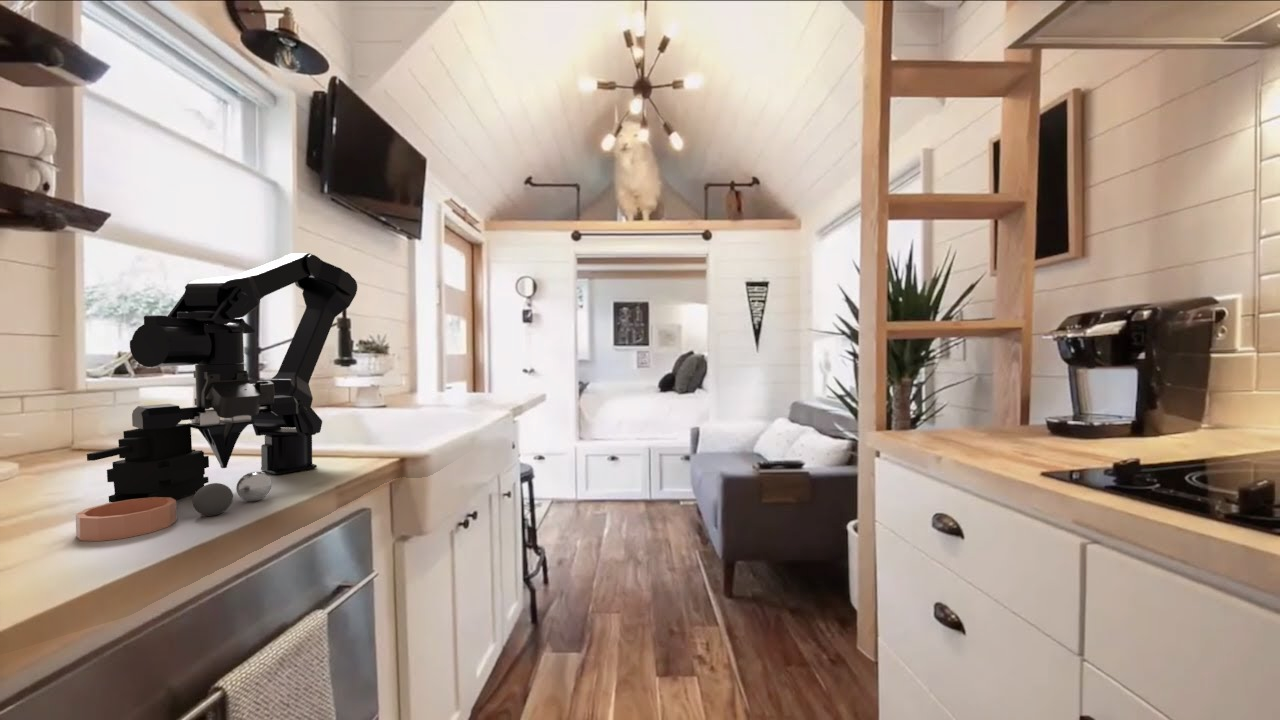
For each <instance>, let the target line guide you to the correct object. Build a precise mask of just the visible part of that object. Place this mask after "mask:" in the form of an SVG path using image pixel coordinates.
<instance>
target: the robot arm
mask: <svg viewBox="0 0 1280 720" xmlns="http://www.w3.org/2000/svg"><path fill="white" fill-rule="evenodd" d="M293 284H295V286H296V287H297V288H299V289H300V290H302V296H303V297H302V298H303V301H304V304H305V309H304V311H303V314H302V316H301V318H300V321H299V323H298V325H297V328H296V330H295V332H294V335H293V337H292V339H291V342H290V344H289V346H288V348H287V350H286V352H285V355H284V358H283V359H282V362H281V364H280V366H279V369H278V371H277V372H276V374H275V375H274V376H273V377H272V378H259V380H258V381H256V382H255V383H250V381H249V374H248V370H245V354H244V353H245V352H244V351H245V350H244V347H245V346H244V335H246V334H250V335H253V334H255V332H256V330H255V329H254V328H253V326H251V325H250V324H248V323H247V322H246V321H245V319H244V317H245V316H247V315H248V314H250V313H251V312H252V311H254V310H255V309H256V308H257V307H258V306H259V305H260V302H261V300H262V299H263V298H264V297H265V296H267V295H270V294H272V293H275V292H277V291H279V290H281V289H283V288H286V287H288V286H290V285H293ZM184 289H185V290H184V293H183V295H182V296H181V297H180V298H179V300H178V301H177V303H176V304H175V305H174V306H173V308H172V309H171V311H170V312H169V313H168V315H157V314H155V315H152V314H151V315H150V314H149V315H148V314H147V315H144V316H143V324H142V325H141V326H138V327H137V329H136V330H135V331H134V333H133V335H132V338H131V340H129V348H130V349H129V350H130V353H131V356H132V357H133V359H134V360H135V361H136V362H137V363H138V364H139V365H141V366H143V367H146V368H160V367H161V368H166V367H183V366H193V365H194V367H195V370H194V371H193V378H194V379H195V398H194V406H188V407H180V405H177V404H172V403H163V404H162V403H161V404H149V405H137V407H135V408H134V409H133V410H132V414H131V421H132V427H134V428H136V429H138V428H140V429H157V428H167V427H175V426H176V425H177V424H180V422H181V421H191V422H188V423H187V424H190V427H191V429H192V428H193V429H194V430H195V429H196V430H198V431H199V432H200V433H201V435H202V436H203V438H205V440H206V441H207V443H208V446H209V447H210V449H211V451H212V452H213V454H214V456H215V458H216V460H217V462H218V464H219V467H220V468H221V469H227V468H228V464H229V461H230V459H231V457H232V454H233V450H234V449H235V446H236V443H237V441H238V439H239V438H240V436H241V434H242V432H243V431H244V430H245V429H246V428H247V427H248V426H249V425H252V427H253V430H254V433H255V436H258V437H259V436H264V444H261V446H260V447H261V451H260V452H261V467H260V471H264V472H267V473H270V474H272V475H282V474H288V473H295V472H299V471H305V470H311V469H316V468H317V467H318V465H317V464H314V463H313V436H315V435H317V434H319V433H321V429H322V427H323V420H322V419H321V417H320V416H319V415H318V414H317V412H315V410H314V409H313V408H312V403H313V400H314V399H313V395H312V390H311V388H310V381H311V379H312V375H313V373H314V371H315V368H316V366H317V363H318V361H319V359H320V356H321V353H322V352H323V349H324V346H325V344H326V342H327V338H328V337H329V334H330V331H331V329H332V326H333V324H334V321H335V319H336V317H337V316H339V315H340V314H341V313H343V312H344V311H345V310H347V309H348V308H349V307H350V305H351V304H352V302H353V301H354V299H355V298H356V295H357V291H358V283H357V280H356V279H355V278H354V277H353V276H352V274H351V273H349V272H347V271H345V270H344V269H342V268H341V267H338V266H337V265H333V264H331V263H329V262H326V261H324V260H322V259H321V258H319V257H318V256H317V255H315V254H313V253H310V252H309V253H308V252H307V253H306V252H305V253H289V254H287V255H286V254H285V255H283V257H281V258H279V259H276V260H273V261H271V262H267V263H266V264H263V265H260V266H258V267H255V268H251V269H249V270H246V271H243V272H242V273H241V272H240V273H238V274H235V275H225V276H217V277H214V276H213V277H208V278H200V279H194V280H191V281H190V282H188V283H187V284H186V285H185V286H184ZM221 418H222V419H221Z"/></svg>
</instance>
